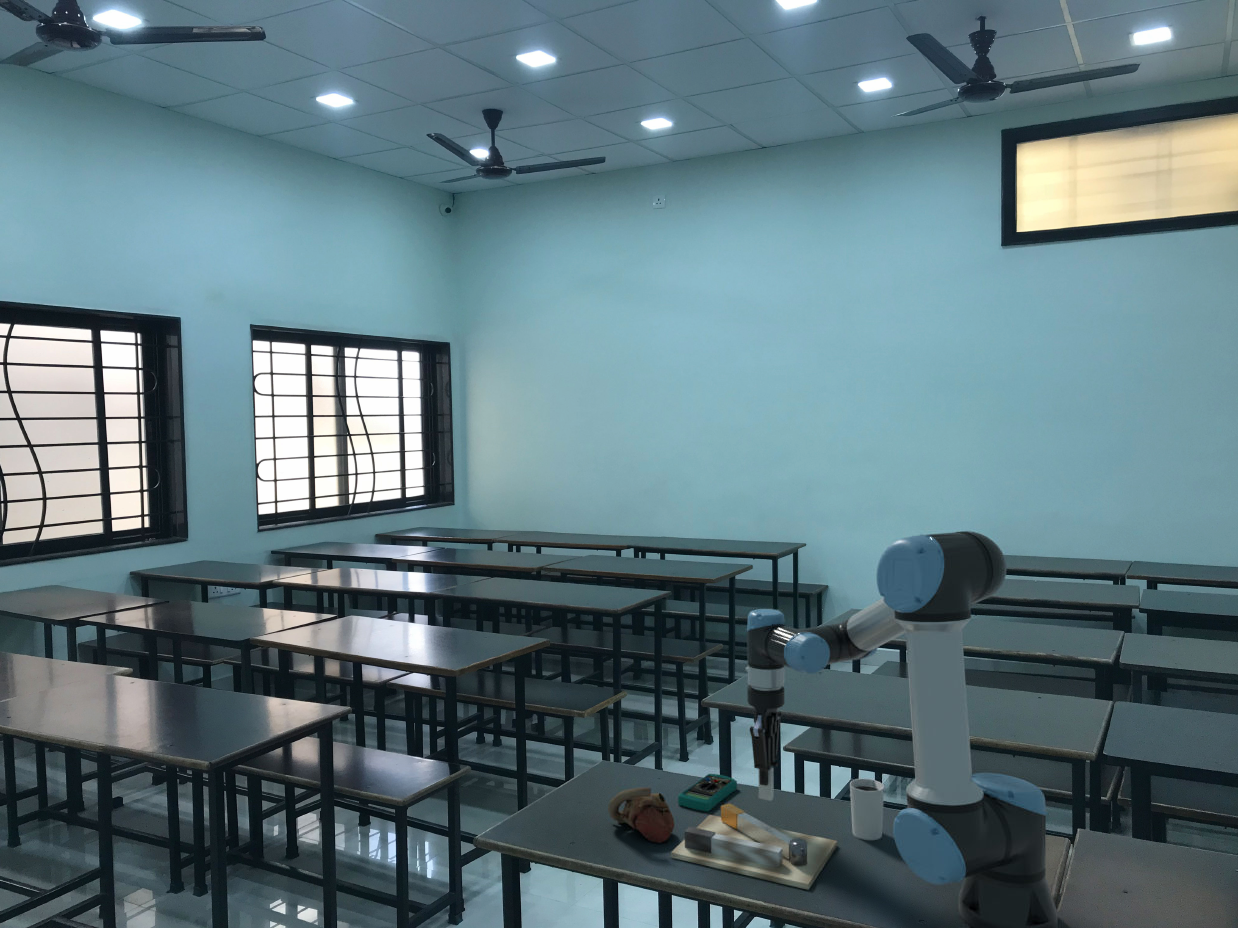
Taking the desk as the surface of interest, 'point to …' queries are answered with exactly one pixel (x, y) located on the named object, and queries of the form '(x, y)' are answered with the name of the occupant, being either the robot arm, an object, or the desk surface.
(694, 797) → the digital multimeter
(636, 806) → the anatomical model
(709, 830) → the board
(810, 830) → the desk surface
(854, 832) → the white coffee cup
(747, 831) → the bar
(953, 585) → the robot arm
